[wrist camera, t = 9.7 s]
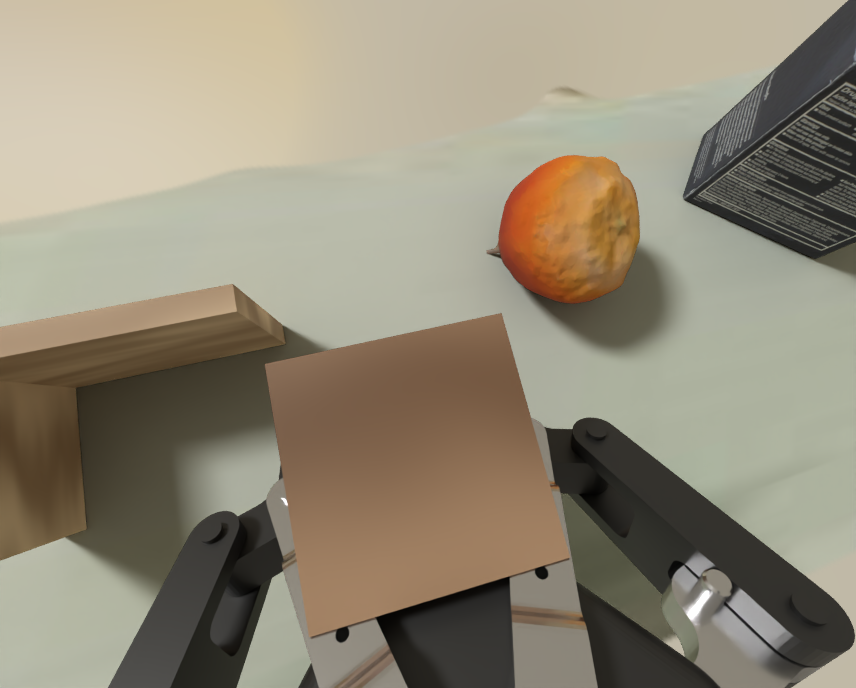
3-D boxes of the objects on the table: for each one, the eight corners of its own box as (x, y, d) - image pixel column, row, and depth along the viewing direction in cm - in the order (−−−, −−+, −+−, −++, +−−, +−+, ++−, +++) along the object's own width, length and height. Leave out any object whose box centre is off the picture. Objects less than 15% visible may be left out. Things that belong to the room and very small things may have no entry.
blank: (463, 471, 19) (569, 557, 7) (365, 497, 18) (308, 637, 7) (439, 375, 20) (501, 313, 8) (345, 397, 19) (264, 364, 7)
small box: (832, 188, 28) (1086, 56, 18) (815, 262, 27) (1080, 165, 16) (702, 129, 28) (881, -38, 18) (679, 200, 27) (858, 63, 16)
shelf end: (308, 472, 21) (266, 500, 14) (61, 535, 19) (-122, 600, 12) (282, 324, 22) (232, 284, 16) (50, 371, 21) (-119, 349, 14)
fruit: (504, 153, 24) (621, 98, 18) (565, 237, 28) (682, 219, 21) (439, 249, 23) (541, 230, 16) (514, 325, 26) (622, 335, 20)
